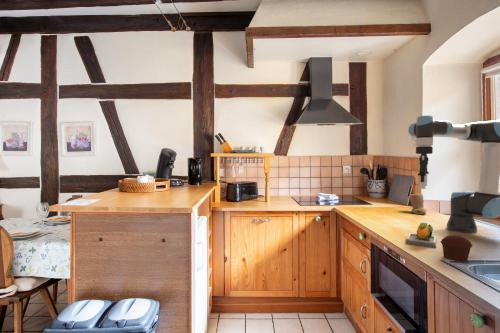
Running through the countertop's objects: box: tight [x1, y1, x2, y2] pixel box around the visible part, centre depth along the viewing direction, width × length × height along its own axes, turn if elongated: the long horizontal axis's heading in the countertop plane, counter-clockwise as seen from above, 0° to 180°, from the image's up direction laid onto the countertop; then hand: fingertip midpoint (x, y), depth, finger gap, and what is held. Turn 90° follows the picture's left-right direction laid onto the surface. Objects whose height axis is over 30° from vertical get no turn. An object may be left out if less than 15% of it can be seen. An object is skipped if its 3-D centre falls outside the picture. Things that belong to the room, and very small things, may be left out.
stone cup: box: [408, 193, 427, 215], centre depth 236 cm, size 15×12×15 cm
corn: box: [415, 221, 434, 240], centre depth 159 cm, size 7×8×20 cm
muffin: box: [440, 234, 473, 263], centre depth 136 cm, size 12×11×10 cm
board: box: [405, 232, 437, 249], centre depth 161 cm, size 13×15×2 cm
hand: (423, 187), depth 159 cm, fingers open, 13 cm apart
